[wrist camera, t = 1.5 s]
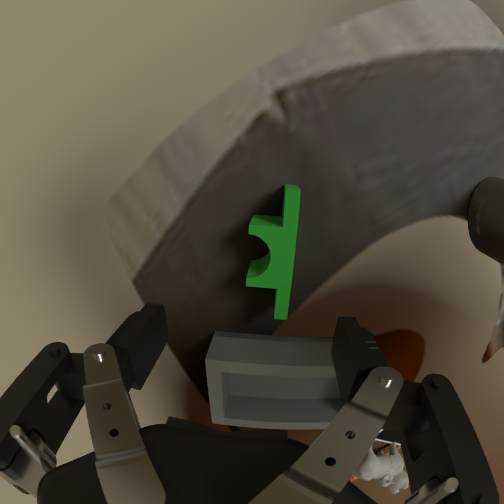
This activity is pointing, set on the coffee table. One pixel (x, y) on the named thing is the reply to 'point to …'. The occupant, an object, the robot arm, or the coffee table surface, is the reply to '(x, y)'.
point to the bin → (272, 381)
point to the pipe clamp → (277, 250)
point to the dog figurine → (384, 469)
